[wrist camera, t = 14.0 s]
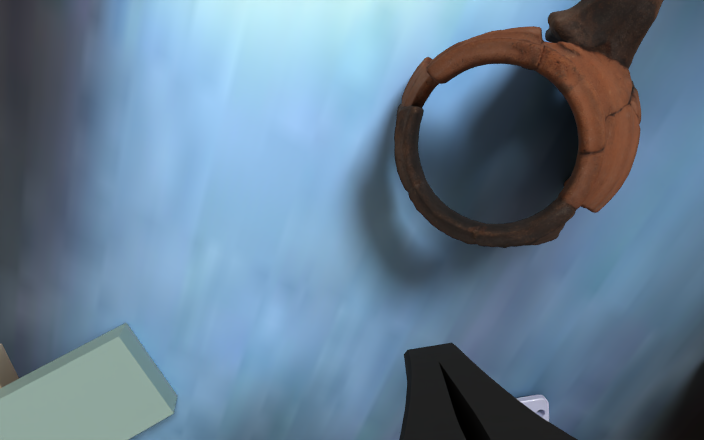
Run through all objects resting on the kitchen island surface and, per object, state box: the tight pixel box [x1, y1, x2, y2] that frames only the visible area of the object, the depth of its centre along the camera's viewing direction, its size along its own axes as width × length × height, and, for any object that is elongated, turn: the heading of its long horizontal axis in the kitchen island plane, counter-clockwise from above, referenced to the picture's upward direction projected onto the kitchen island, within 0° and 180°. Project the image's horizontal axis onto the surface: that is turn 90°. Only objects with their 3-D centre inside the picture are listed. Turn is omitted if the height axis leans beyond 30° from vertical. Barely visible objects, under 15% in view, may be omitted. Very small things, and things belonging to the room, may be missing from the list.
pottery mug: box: [394, 0, 664, 248], centre depth 18 cm, size 12×10×8 cm
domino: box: [0, 323, 177, 440], centre depth 21 cm, size 5×2×8 cm
